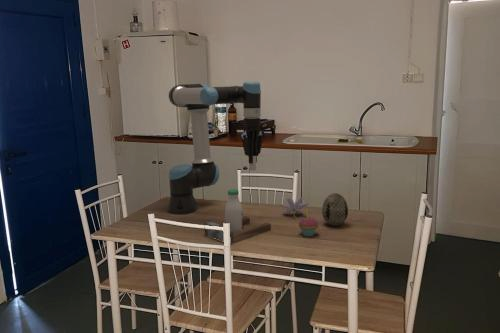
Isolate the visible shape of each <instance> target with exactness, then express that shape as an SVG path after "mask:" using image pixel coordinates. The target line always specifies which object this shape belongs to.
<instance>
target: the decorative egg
mask: <svg viewBox="0 0 500 333" xmlns="http://www.w3.org/2000/svg"><path fill="white" fill-rule="evenodd" d="M321 212H322V213H321V214H322V218H323V219H324V221H325V222H326V223H327V224H328V225H330V226H333V227H336V226H337V227H338V226H340V225H343V223H345V221H346V220H347V218H348V214H349V206H348V203H347V201H346V199H345V197H344V196H343V195H342V194H339V193H338V192H337V193H336V192H335V193H334V192H332V193H331V194H329V195H328V196H327V197H326V198H325V199H324V201H323V204H322V207H321Z"/></svg>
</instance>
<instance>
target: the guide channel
mask: <svg viewBox="0 0 500 333" xmlns="http://www.w3.org/2000/svg"><path fill="white" fill-rule="evenodd" d="M250 223H251V219H250V216H243V226H246V225H249V224H250ZM205 225H209V226H219V227H223V223H219V224H218V223H215V222H212V221H210V220H208V221H205V222H204V226H205ZM271 225H272V223H270V222H267V221H266V222H264V223H260V224H257V225H255V226H252V227H249V228H245V229H243V231H240V232H237V233H234V234H233V229H230V237H231V244H230V245H232V244H235V243H238V242H241V241H243V240H246V239H250V238H252V237H255V236H259V235H260V234H263V233H266V232H269V231H271V230H272V228H271V227H272V226H271ZM205 235H206V237H207V236H209V237H208V238H210V237H212V238H211V239H213V238H216V239H219V240H221V241H223V231H217V230H206V229H205V228H204V236H205Z"/></svg>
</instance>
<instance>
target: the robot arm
mask: <svg viewBox="0 0 500 333" xmlns="http://www.w3.org/2000/svg"><path fill="white" fill-rule="evenodd" d="M261 92H262V90H261V83H260V82H259V81H244V82H243V84H242V86H241V85H240V86H239V85H233V86H232V85H231V86H209V85H208V84H205V83H189V84H188V83H187V84H186V83H185V84H184V83H183V84H177V85H174V86H173V87H171V89H170V90H169V92H168V99H169V102H170V103H171V104H172V105H173V106H175V107H177V108H186V112H188V113H189V114H190V123H191V134H192V143H193V144H192V146H193V154H194V155H193V157H194V159H193V161H192V162H191V164H189V163H185V164H183V163H182V164H178V165H175V166H172V167H171V168H170V169H169V173H168V178H169V180H168V181H169V191H170V196H169V200H168V204H167V212H168V213H170V214H174V215H185V214H191V213H194V212H196V211H197V210H198V205H197V202H196V198H195V196H194V189H199V188H203V187H210V186H214V185H216V183H218V181H219V179H220V168H219V166H218V164H216V163H215V160H214V159H212V156H211V146H210V134H209V122H208V112H209V111H210V106H213V105H227V104H243V117H244V118H243V127H244V131H243V133H242V134H240V135H239V137H240V139H241V142H242V147H243V152H244V155H245V156H247V157H248V164H249V165H248V166H249V171H251V172H252V171H253V172H254V171H255V172H256V171H257V162H258V159H257V158H258V157H259V156H260V155H259V154H261V151H262V144H263V137H264V135H265V132H264V131H262V130H261V126H262V119H261V115H262V114H261V108H262V107H261V105H262V104H261V100H262V99H261V97H262V96H261Z"/></svg>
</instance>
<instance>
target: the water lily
mask: <svg viewBox="0 0 500 333" xmlns="http://www.w3.org/2000/svg"><path fill="white" fill-rule="evenodd" d="M286 201H287V202H285V204H282V203H281V204H279V206H280V207H282V208H284V209H286V210H284V211H283V213H282V215H287V214H290V213H292V212H293V213H292V214H293V220H294V219H296V214H299V215H304V211H303V209H304V208H305V207H306V208H307V206H309V203H307V202H305V203H304V202H302V201H303V197H298V199H296V200H295V201H294V199H292V198H290V197H289V198H286ZM301 209H302V210H301ZM295 213H296V214H295Z"/></svg>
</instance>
